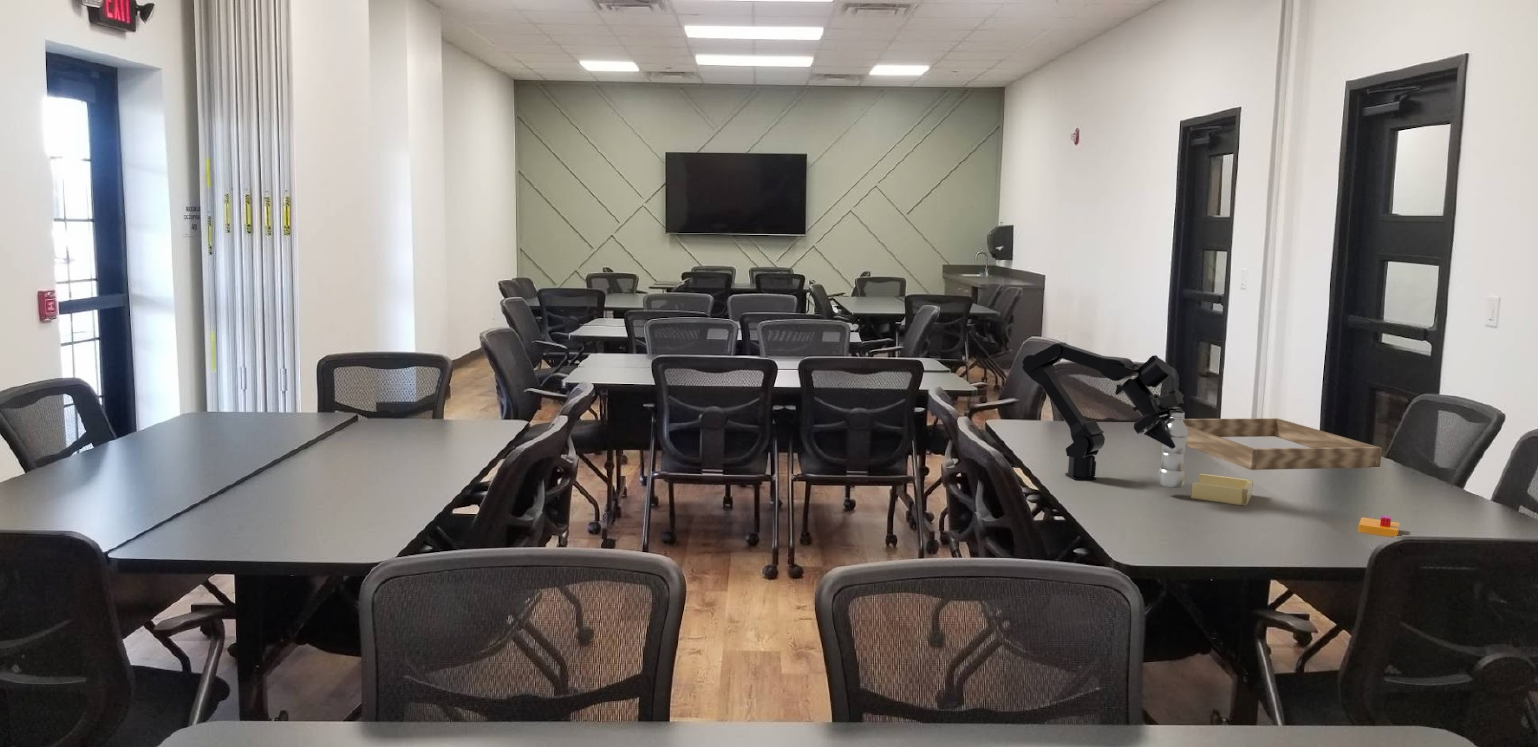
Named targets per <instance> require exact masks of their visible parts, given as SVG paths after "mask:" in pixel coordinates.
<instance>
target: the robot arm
mask: <svg viewBox="0 0 1538 747" xmlns="http://www.w3.org/2000/svg"><path fill="white" fill-rule="evenodd" d="M1062 359H1063V360H1066V361H1068V362H1072V363H1074V364H1077V365H1080V366H1084V367H1087V368H1089V369H1093V370H1095V371H1097V372H1098V373H1099V374H1101V375H1102V376H1104V377H1106V378H1107V379H1109V380H1111V381H1113V382H1119V381H1123V380H1126V381H1125V382H1123V383H1119V384H1116V385H1115V386H1116V389H1115V393H1114V394H1115V395H1116V396H1119V395H1123V394H1125V396H1126V397H1127V399H1129V401H1130V402H1131V403H1132V405H1133V406H1134V407H1133V408H1132V410H1133V411H1134V412H1136V413H1137V412H1139V414H1140V415H1141V418H1139V419H1138V420H1136V421H1135V422H1134V423H1133V430H1134V431H1135V432H1136V434H1137V435H1140V434H1143V435H1144V436H1147V437H1149V438H1151V439H1153V440H1155V441H1157V442H1159V443H1160V444H1162V445H1163V444H1164V445H1166V446H1168V447H1169V448H1171V449H1173V448H1175V447H1176V446H1175V444H1174V442H1173V440H1172V439H1171V437H1170V435H1169V434H1168V432H1167V430H1166V429H1165V424H1166V423H1167V422H1168V421H1169V419H1170V418H1168V417H1169V412H1170V411H1182V412H1185V410H1183V408H1182V407H1180V406H1177V405H1182V404H1184V402H1185V401H1184V400H1183V399H1184V397H1185V396H1184V394H1182V392H1181V391H1179V390H1178V389H1177V388H1176V389H1173V390H1169V392H1168V394H1167V395H1163V396H1160V395H1159V394H1157V393H1156V394H1154V393H1153V391H1152V390H1151V389H1150V388H1151V387H1152V388H1157V387H1158V386H1160V385H1161V384H1162V383H1163V382H1165V381H1166V380H1167V379H1168V378H1170V377H1171V376H1172V375H1173V374H1174V373H1173V369H1172V367H1171V365H1170V364H1168V363H1167V362H1165V361H1164V360H1163V359H1161V358H1159V356H1158V355H1156V354H1155V355H1154V354H1153V355H1151V356H1150V357H1149V358H1148V360H1147V361H1145V362H1144V363H1143V364H1142V365H1141V364H1140V365H1139V364H1136V363H1134V362H1133V360H1132V359H1130V358H1127V357H1119V356H1118V357H1117V356H1107V355H1102V354H1099V353H1095V352H1092V351H1089V350H1086V349H1083V348H1079V347H1077V346H1074V345H1070V344H1068V343H1067V342H1056V343H1053V344H1051V345H1050V346H1049V347H1047V348H1044V349H1043V350H1040V351H1039V352H1036V353H1034V354H1028V355H1026V356H1025V357H1024V358H1023V359H1022V365H1021V368H1022V371H1023V372H1024V373H1025V374H1026V376H1028V378H1029V379H1030V380H1032V381H1033V382H1034V383H1036V384H1038V385H1039V386H1040V387H1041V388H1042V389H1043V391H1044V392H1045V393H1046V395H1047V396H1048V397H1049V399H1050V401H1051V402H1052V403H1053V405H1054V407H1055V408H1056V409H1057V411H1058V412H1059V414H1060V415H1061V417H1062V419H1063V420H1064V421H1065V423H1066V424H1067V425H1068V428H1069V431H1070V437H1071V441H1072V443H1071V444H1069V446H1067V447H1066V448H1065V452H1066V457H1068V465H1067V472H1065V473H1064V474H1065V476H1066V477H1069V478H1071V479H1073V480H1077V481H1079V480H1082V481H1083V480H1097V477H1096V470H1097V462H1096V460H1095V459H1096V456H1097V455H1098V453H1099V451H1100V450H1102V448H1103V447H1104V445H1105V441H1106V438H1105V435H1104V433H1105V431H1104V430H1102V429H1101V427H1100V426H1099V424H1098V422H1097V420H1095V419H1094V420H1091V421H1089V420H1088V419H1086V418H1085V417H1084V415H1083V414H1082V413H1081V411H1080V410H1079V408H1078V407H1077V406H1076V404H1075V402H1074V401H1073V400H1072V398H1071V397H1070V395H1069V394H1068V393H1067V391H1066V389H1065V388H1064V387H1063V385H1062V383H1060V381H1059V379H1058V378H1057V374H1056V368H1055V366H1054V365H1055V364H1056V363H1058V362H1059V361H1060V360H1062ZM1133 376H1135V377H1134V378H1132V377H1133ZM1145 430H1147V431H1145Z"/></svg>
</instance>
